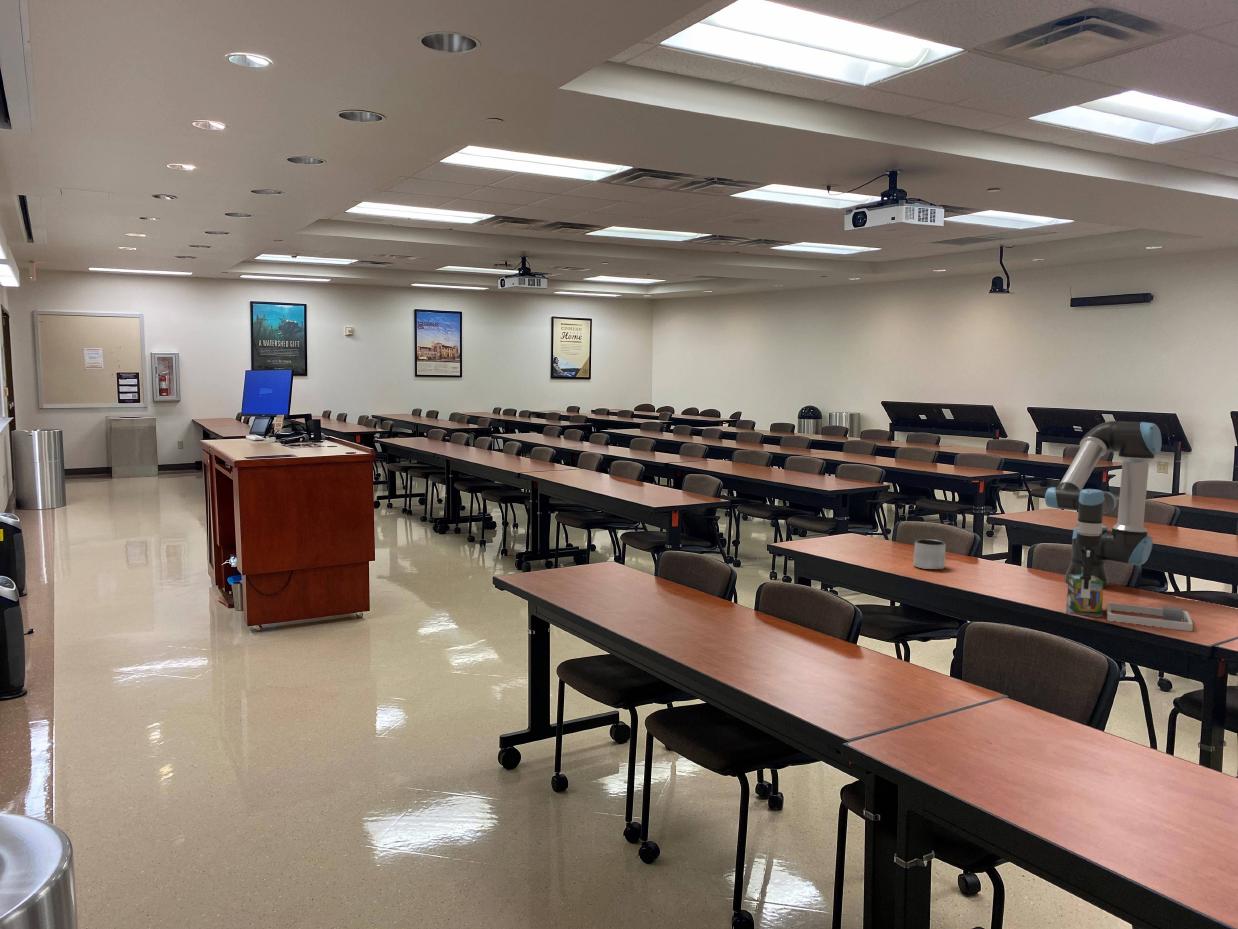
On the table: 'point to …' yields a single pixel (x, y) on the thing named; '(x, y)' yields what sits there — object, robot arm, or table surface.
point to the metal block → (1172, 613)
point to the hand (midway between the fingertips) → (1085, 593)
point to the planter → (929, 554)
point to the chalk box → (1084, 603)
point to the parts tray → (1146, 621)
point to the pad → (1083, 612)
